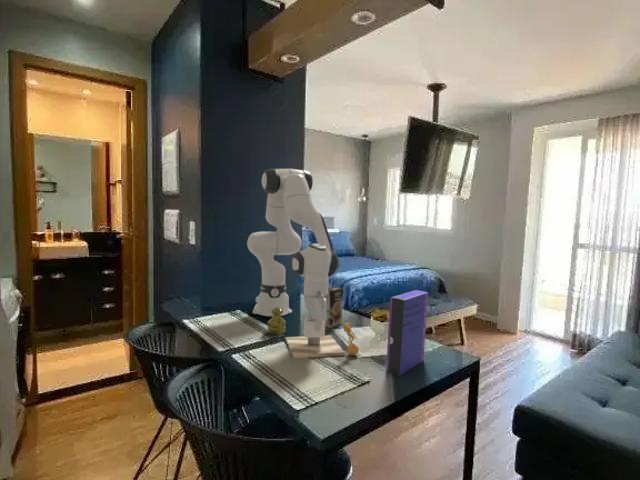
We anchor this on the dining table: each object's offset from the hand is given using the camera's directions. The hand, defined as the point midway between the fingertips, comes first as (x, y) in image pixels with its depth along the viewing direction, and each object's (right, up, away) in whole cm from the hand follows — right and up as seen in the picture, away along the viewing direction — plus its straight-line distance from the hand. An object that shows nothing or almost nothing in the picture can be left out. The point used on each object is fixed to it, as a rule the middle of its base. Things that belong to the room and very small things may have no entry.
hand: (314, 326), depth 139 cm
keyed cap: (0, -3, 0) cm, 3 cm away
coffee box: (+7, -6, +30) cm, 31 cm away
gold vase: (-16, -6, +16) cm, 23 cm away
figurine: (+13, -9, -5) cm, 16 cm away
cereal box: (+30, -10, -13) cm, 34 cm away
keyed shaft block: (0, -8, +1) cm, 8 cm away
